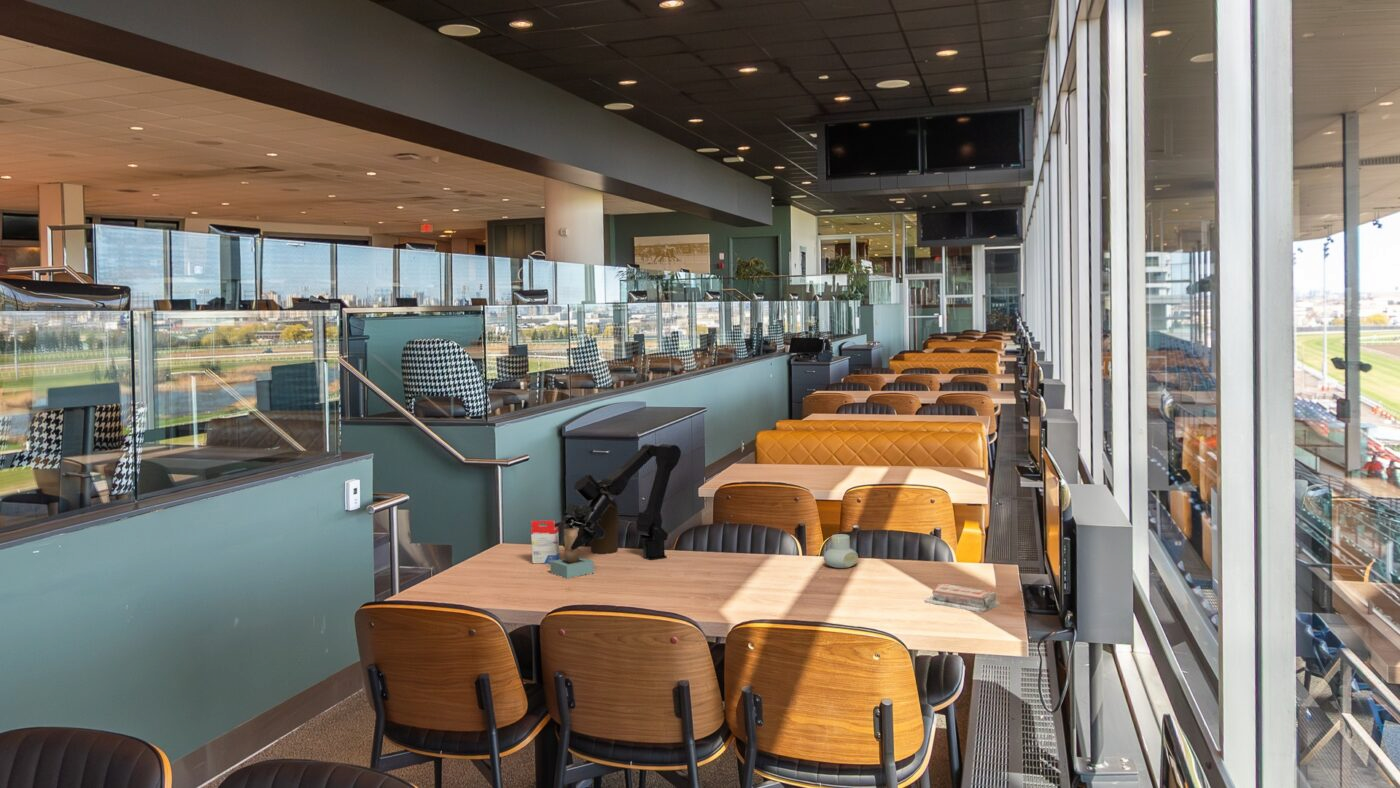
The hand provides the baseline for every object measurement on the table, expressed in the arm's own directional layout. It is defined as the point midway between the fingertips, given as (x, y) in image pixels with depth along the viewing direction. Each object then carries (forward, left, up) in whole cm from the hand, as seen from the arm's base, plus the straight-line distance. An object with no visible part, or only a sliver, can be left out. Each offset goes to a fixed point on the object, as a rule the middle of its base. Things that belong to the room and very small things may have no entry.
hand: (567, 548), depth 341 cm
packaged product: (-80, +95, -9) cm, 125 cm away
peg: (-1, 0, -7) cm, 7 cm away
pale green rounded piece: (-78, +39, -9) cm, 88 cm away
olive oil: (-23, -26, -9) cm, 36 cm away
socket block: (-1, 0, -8) cm, 9 cm away
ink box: (+1, -21, -9) cm, 23 cm away
